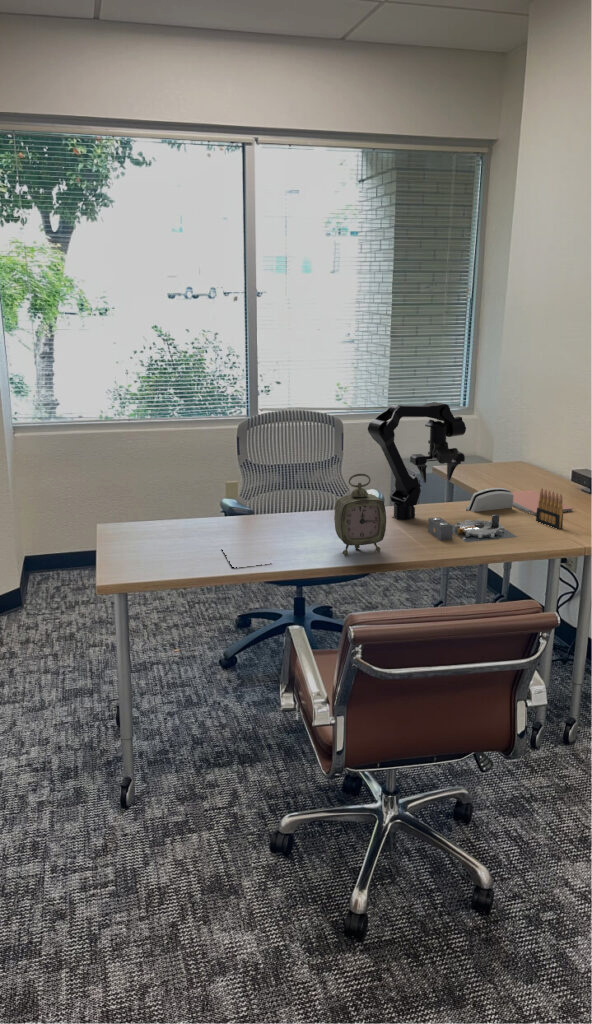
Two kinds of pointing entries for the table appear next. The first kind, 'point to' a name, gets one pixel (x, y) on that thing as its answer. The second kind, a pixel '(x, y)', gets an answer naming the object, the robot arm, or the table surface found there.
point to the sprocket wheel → (480, 527)
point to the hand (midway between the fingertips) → (436, 481)
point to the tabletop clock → (360, 517)
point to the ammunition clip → (550, 509)
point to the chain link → (440, 528)
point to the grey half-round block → (490, 500)
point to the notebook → (530, 501)
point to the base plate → (473, 538)
